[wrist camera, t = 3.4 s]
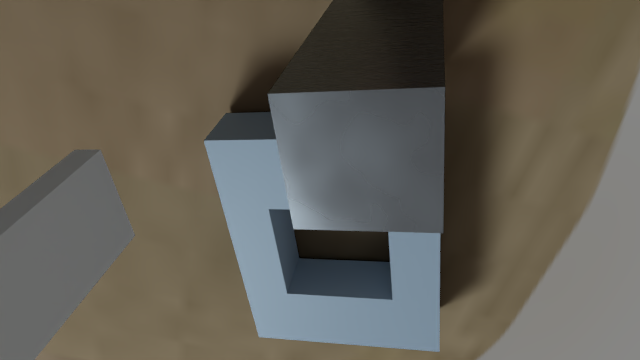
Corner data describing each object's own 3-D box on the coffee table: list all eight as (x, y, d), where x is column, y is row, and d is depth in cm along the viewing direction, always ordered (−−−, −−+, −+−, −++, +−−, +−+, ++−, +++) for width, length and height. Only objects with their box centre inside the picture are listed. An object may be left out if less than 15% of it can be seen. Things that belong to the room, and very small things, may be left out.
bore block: (225, 113, 26) (203, 140, 24) (440, 106, 24) (441, 136, 21) (272, 301, 33) (259, 336, 31) (439, 312, 31) (439, 351, 28)
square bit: (346, -19, 21) (267, 93, 12) (441, -28, 20) (445, 86, 11) (354, 70, 23) (293, 229, 14) (440, 66, 22) (443, 233, 13)
